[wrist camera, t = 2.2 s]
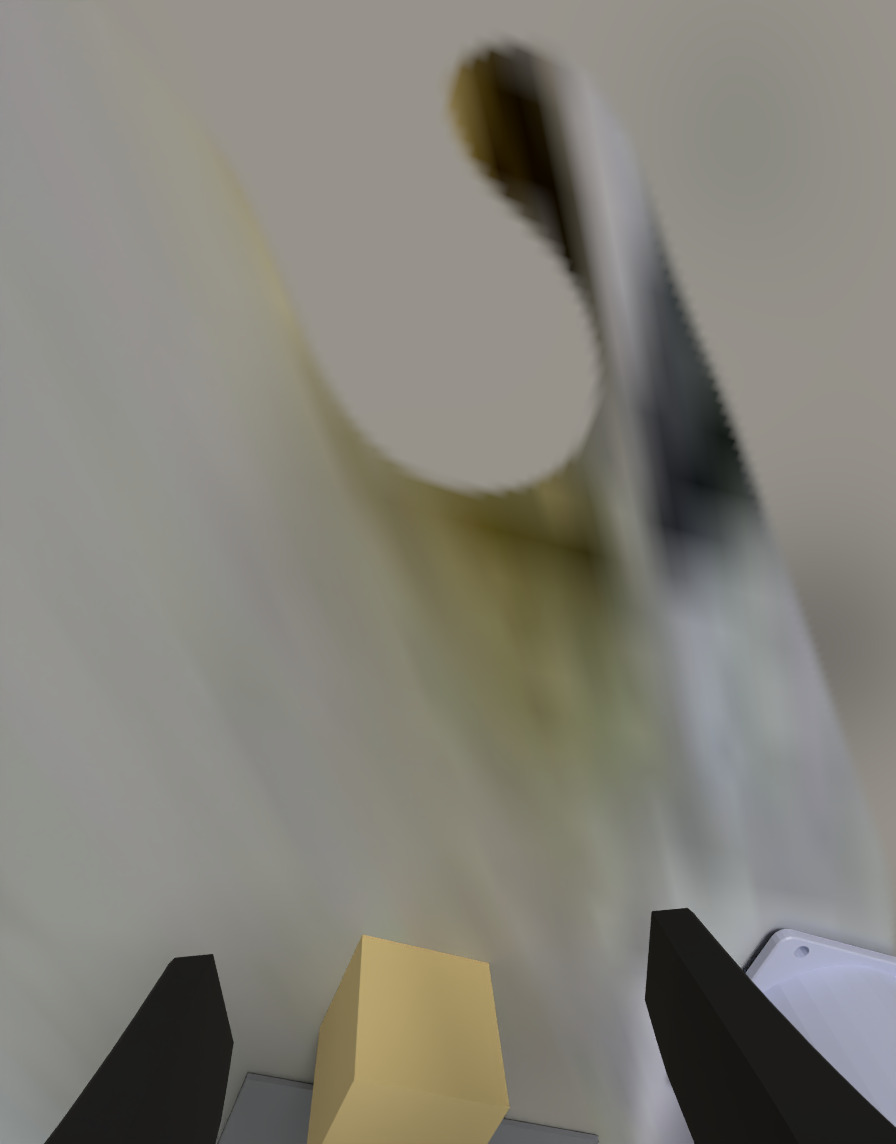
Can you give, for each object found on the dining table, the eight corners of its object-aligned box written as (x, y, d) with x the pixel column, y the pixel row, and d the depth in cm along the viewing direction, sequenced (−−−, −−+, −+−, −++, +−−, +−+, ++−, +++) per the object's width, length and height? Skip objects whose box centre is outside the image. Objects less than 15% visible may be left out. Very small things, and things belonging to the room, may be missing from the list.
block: (488, 961, 22) (509, 1107, 18) (440, 1049, 24) (449, 1205, 19) (362, 932, 21) (354, 1079, 17) (320, 1025, 23) (302, 1183, 18)
